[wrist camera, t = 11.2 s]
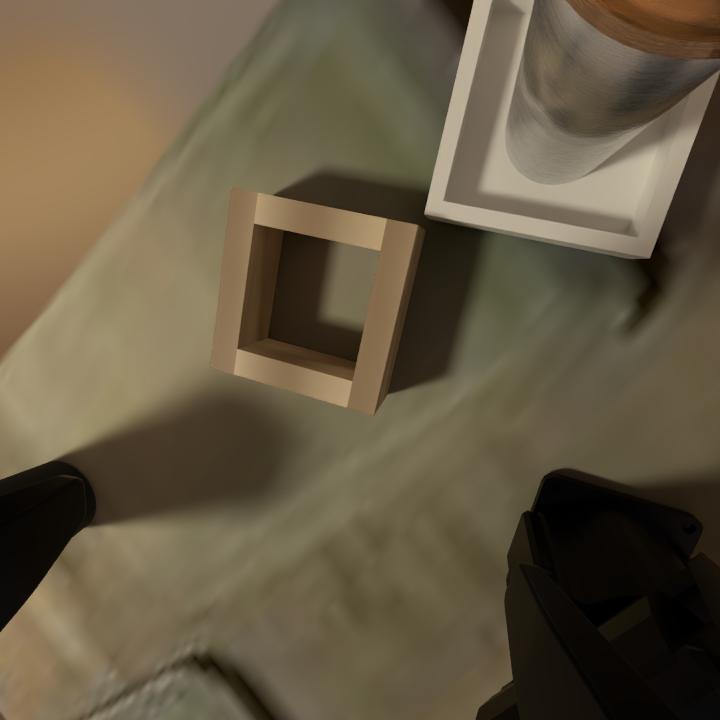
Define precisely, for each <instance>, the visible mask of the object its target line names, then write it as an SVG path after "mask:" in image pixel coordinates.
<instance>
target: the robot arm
mask: <svg viewBox="0 0 720 720" xmlns="http://www.w3.org/2000/svg"><path fill="white" fill-rule="evenodd" d="M553 482H555V483H558V484H559V486H558V487H557V488H550V487H549V485H550V483H553ZM85 515H86V499H85V488H84V482H83V481H82V479H80V478H77V477H72V476H67V475H59V476H56V477H53V478H51V479H48V480H45V481H42V482H39V483H36V484H34V485H31V486H28V487H25V488H22V489H20V490H17V491H14V492H11V493H8V494H5V495H3V496H0V632H1V631H2V630H3V628H4V627H5V626H6V625H7V624H8V622H9V621H10V620H11V619H12V618H13V616H14V615H15V614H16V613H17V612H18V610H19V609H20V608H21V607H22V606H23V604H24V603H25V602H26V601H27V599H28V598H29V597H30V596H31V594H32V593H33V592H34V591H35V589H36V588H37V586H38V585H39V584H40V582H41V581H42V580H43V578H44V577H45V575H46V574H47V573H48V571H49V570H50V568H51V567H52V565H53V564H54V562H55V561H56V560H57V558H58V557H59V555H60V554H61V552H62V551H63V550H64V548H65V547H66V545H67V544H68V542H69V541H70V540H71V538H72V537H73V535H74V534H75V532H76V531H77V529H78V528H79V527H80V525H81V524H82V522H83V520H84V518H85ZM686 523H691V526H690V527H688V528H682V526H683V525H684V524H686ZM702 530H703V527H702V524H701V523H700V522H699V520H698V519H697V518H696V517H695V516H694V515H692V514H690V513H687V512H684V511H681V510H677V509H674V508H670V507H667V506H664V505H660V504H657V503H654V502H650V501H647V500H643V499H640V498H637V497H633V496H630V495H627V494H623V493H620V492H616V491H613V490H610V489H606V488H603V487H600V486H596V485H593V484H589V483H586V482H583V481H579V480H576V479H573V478H569V477H566V476H562V475H559V474H554V473H550V474H547V475H545V476H544V477H543V479H542V480H541V483H540V486H539V489H538V491H537V494H536V497H535V500H534V503H533V505H532V508H531V511H526V512H524V513H522V515H521V518H520V521H519V524H518V526H517V529H516V532H515V535H514V538H513V541H512V543H511V546H510V549H509V552H508V555H507V559H508V567H509V572H508V575H507V578H506V583H507V589H506V592H505V599H504V604H505V613H506V622H507V631H508V640H509V649H510V658H511V667H512V675H513V680H512V681H511V682H509V683H508V684H506V685H505V686H503V687H502V689H501V691H500V692H498V693H497V694H495V695H494V696H492V697H491V698H490V699H489V700H488V701H487V702H485V703H484V704H483V705H482V706H481V707H480V708H479V710H478V713H477V717H476V720H720V567H719V566H717V565H716V564H715V563H714V562H713V561H712V560H710V559H709V558H708V557H707V556H706V555H704V554H703V553H700V554H698V555H697V556H695V557H694V558H692V559H690V556H691V554H692V552H693V550H694V548H695V545H696V543H697V541H698V539H699V537H700V535H701V533H702Z"/></svg>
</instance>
